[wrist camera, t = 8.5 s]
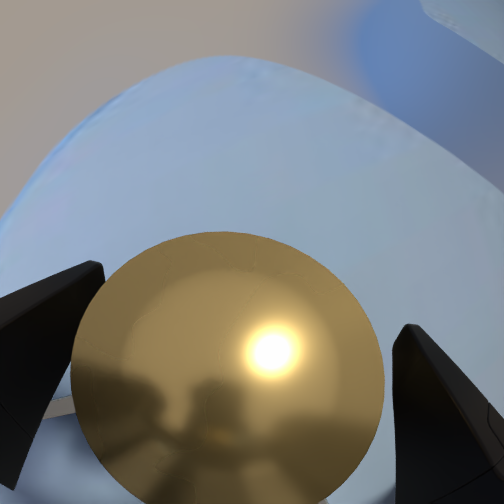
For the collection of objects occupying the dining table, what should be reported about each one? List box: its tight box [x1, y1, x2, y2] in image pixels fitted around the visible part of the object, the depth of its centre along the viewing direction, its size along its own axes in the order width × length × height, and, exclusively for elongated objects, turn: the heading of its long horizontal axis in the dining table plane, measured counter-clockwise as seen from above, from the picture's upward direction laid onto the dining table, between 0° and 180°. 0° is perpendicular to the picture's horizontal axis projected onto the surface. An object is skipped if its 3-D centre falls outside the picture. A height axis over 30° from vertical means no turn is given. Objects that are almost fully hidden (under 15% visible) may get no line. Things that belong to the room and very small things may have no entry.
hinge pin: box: [70, 232, 385, 504], centre depth 10 cm, size 4×4×12 cm
